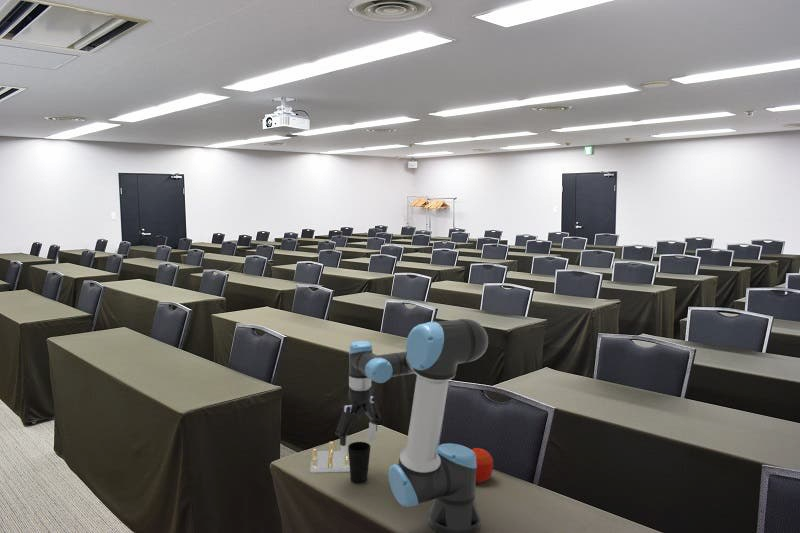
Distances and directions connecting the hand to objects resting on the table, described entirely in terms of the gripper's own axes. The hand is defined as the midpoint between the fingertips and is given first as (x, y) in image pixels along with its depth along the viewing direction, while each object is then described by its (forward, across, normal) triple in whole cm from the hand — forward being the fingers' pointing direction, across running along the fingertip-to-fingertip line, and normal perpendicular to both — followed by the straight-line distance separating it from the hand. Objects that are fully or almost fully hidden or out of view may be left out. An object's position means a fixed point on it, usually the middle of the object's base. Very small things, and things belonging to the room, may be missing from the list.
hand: (358, 447), depth 192 cm
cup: (+12, 0, +1) cm, 12 cm away
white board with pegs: (+12, -2, -16) cm, 20 cm away
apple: (+11, -27, +31) cm, 43 cm away
